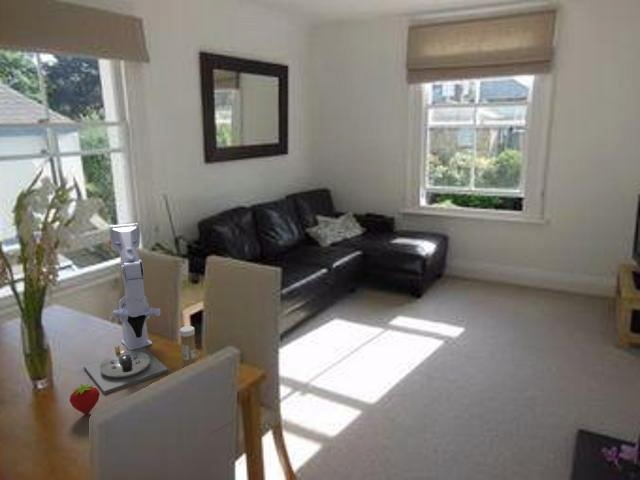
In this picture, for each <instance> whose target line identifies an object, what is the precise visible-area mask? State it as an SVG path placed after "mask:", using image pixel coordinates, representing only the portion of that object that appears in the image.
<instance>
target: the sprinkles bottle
mask: <svg viewBox="0 0 640 480" xmlns="http://www.w3.org/2000/svg"><path fill="white" fill-rule="evenodd" d="M179 334H180V342H181V345H180V346H181V354H182V356H181V357H182V367H183V368H184V367H185V366H188V365H190V364H192V363H195V362H196V363H197V352H196V340H195V339H196V338H195V327H194V326H192V325H185V326H183V327H181V328H180V329H179Z"/></svg>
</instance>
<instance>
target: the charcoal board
mask: <svg viewBox="0 0 640 480" xmlns="http://www.w3.org/2000/svg"><path fill="white" fill-rule="evenodd" d="M131 351H136V352H143V353H145V354H147V355H148V356H149V358H150V365H149V367H148V368H147V369H146V370H145V371H143V372H141V373H140V374H137V375H135V376H131V377H127V378H120V379H113V378H107V377H105V376H103V375H102V374H101V371H100V365H101V363H102V362H103V361H104V360H105V359H106V358H103V359H101V360H98V361H94V362H92V363H89V364H86V365H85V364H84V365H83V370H84V371H85V372H86V373H87V374H88V375H89V376H90V378H91V379H92V380H93V382H94V383H95V384H96V385H97V387H98V389H100V391H102V393H103V394H104V395H106V394H109V393H112V392H115V391H118V390H121V389H123V387H124V388H127V387H129V386H132V385H134V384H138V383H141V382H143V380H144V381H146V380H149V379H152V378H155V377H157V376H158V377H159V376H160V375H163V374H165V373H168V372H169V368H168V367H167V366H166V365H165V364H163V362H161V361H160V360H159V359H157V357H156V356H155V355H153V354H152V353H151V352H150V351H149V350H148V349H147V348H145V346H144V347H141V348H138V349H134V350H129V352H131ZM126 386H127V387H126ZM120 388H121V389H120Z"/></svg>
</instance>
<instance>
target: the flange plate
mask: <svg viewBox="0 0 640 480" xmlns="http://www.w3.org/2000/svg"><path fill="white" fill-rule="evenodd" d="M130 351H131V352H130ZM130 351H124V350H120V353H119V354H116V353H115V354H113V355H111V356H109V357H107V358H104V359H105V360H104V359H103V360H104V361H103V362H102V363H101V365H100V371H101V374H102V375H103V376H105V377H107V378H113V379H120V378H127V377H131V376H135V375H137V374H140V373H141V372H143V371H145V370H146V369H147V368H148V367H149V365H150V358H149V356H148V355H147V354H145V353H143V352H136V351H133V350H130Z"/></svg>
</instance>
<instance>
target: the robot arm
mask: <svg viewBox="0 0 640 480" xmlns="http://www.w3.org/2000/svg"><path fill="white" fill-rule="evenodd" d="M108 228H109V236H110V237H109V238H110V242H111V247H112V250H114V251H117V252H118V254H119V256H120V261H121V265H120V269H121V277H122V281H123V285H124V294H125V295H124V296H123V297H122V298H121V299H119V302H118V309H114V310H113V312H112V317H113V318H114V319H116V318H118V317H119V319H120V320H119V321H120V322H121V323H122V324H121V325H122V334H123V335H122V336H123V339H121V341H120V342H121V343H122V344H123V345H124V346H125V347H126V348H127V349H128V350H129V351H133V350H136V349H140V348H143V347H144V348H145V347H147V346H150V345H152V344H153V342H152V341H151V340H150V339H148V329H147V321H148V319H149V318H150V317H151V316H155V317H160V315H161V308H159V307H158V308H156V307H150V306H149V302H148V298H147V297H146V295H145V285H144V279H145V269H144V268H145V267H144V264H143V261H142V259H140V254H139V250H138V249H137V248H139V247H140V244H141V243H140V242H141V233H140V225H139V224H138V222H135V223H126V224H124V223H122V224H110V225H109V227H108Z"/></svg>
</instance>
